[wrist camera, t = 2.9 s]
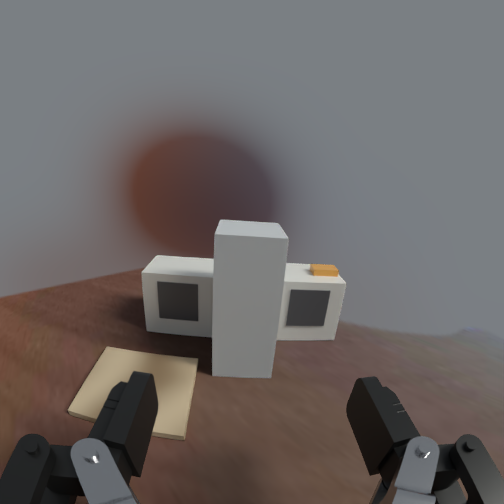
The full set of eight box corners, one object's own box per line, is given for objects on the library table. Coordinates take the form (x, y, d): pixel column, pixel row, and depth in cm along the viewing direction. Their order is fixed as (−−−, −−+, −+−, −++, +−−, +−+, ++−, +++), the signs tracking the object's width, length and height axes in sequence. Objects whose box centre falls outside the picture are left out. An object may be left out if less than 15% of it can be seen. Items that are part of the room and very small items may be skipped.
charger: (212, 375, 20) (214, 234, 17) (217, 329, 27) (222, 215, 24) (270, 378, 20) (288, 238, 17) (264, 331, 27) (275, 218, 24)
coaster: (70, 415, 13) (67, 410, 13) (108, 351, 21) (107, 346, 21) (184, 440, 14) (183, 436, 14) (198, 363, 21) (198, 358, 21)
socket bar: (146, 331, 25) (140, 266, 23) (159, 307, 30) (156, 249, 28) (334, 340, 26) (348, 277, 24) (321, 315, 31) (331, 259, 29)
